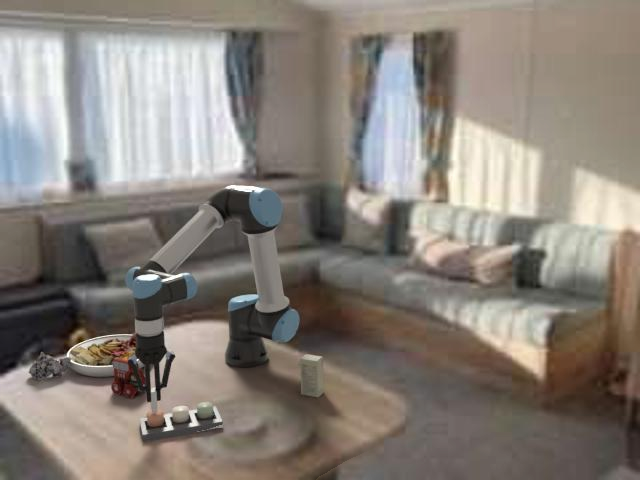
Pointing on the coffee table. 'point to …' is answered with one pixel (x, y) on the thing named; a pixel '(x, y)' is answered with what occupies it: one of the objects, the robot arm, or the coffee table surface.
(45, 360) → the mineral specimen
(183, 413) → the button cream
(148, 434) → the frame
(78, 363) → the bowl
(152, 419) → the button terracotta
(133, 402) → the coffee table surface
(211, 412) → the button sage
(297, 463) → the coffee table surface
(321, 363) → the skincare box
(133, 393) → the toy fire truck
